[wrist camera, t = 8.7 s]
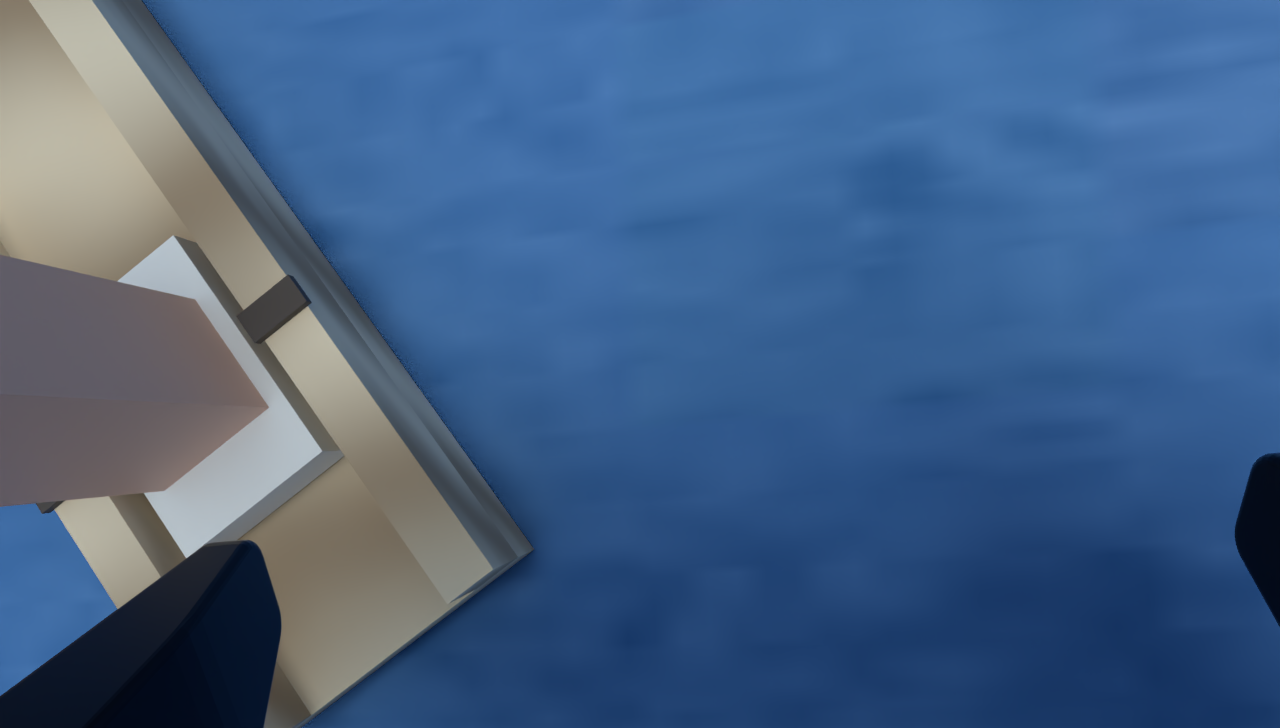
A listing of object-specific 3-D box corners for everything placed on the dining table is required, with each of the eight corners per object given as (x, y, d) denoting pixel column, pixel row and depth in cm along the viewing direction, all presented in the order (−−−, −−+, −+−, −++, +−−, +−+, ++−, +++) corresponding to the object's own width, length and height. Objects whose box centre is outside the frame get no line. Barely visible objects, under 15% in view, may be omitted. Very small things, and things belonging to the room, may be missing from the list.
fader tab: (351, 450, 18) (-219, 473, 8) (223, 550, 19) (-498, 705, 8) (210, 247, 19) (-488, 18, 9) (89, 345, 19) (-740, 242, 9)
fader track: (537, 546, 19) (494, 567, 16) (298, 730, 20) (212, 783, 17) (114, -45, 21) (7, -122, 18) (-93, 131, 22) (-230, 84, 19)
